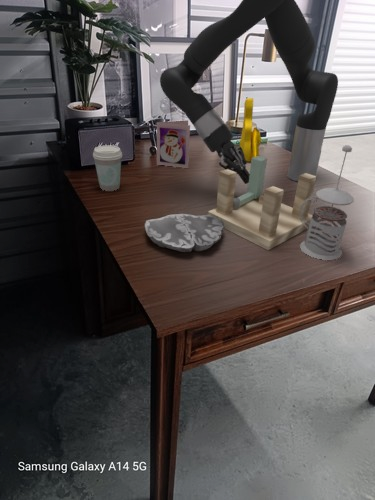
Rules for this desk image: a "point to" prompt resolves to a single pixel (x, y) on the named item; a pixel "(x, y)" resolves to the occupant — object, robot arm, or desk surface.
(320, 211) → the french press
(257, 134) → the figure statuette
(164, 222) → the brain slice
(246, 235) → the stool seat
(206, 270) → the desk surface
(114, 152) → the coffee cup
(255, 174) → the hinged leg
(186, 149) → the greeting card
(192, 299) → the desk surface
